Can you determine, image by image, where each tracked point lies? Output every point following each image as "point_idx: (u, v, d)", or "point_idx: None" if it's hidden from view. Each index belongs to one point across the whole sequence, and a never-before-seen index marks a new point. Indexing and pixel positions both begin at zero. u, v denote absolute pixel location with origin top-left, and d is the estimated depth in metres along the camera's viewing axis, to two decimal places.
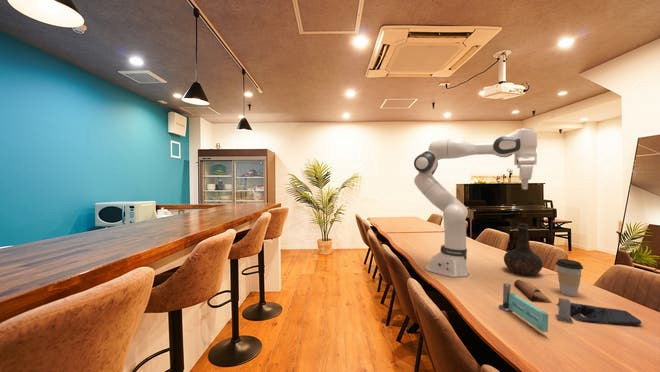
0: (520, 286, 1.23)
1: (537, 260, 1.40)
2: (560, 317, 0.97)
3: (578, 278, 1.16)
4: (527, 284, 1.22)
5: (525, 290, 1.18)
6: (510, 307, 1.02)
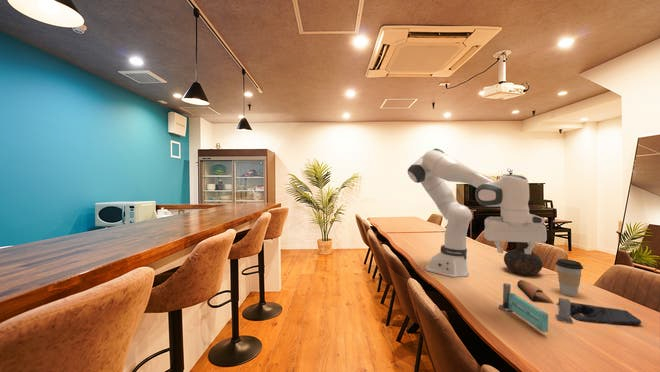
0: (522, 286, 1.23)
1: (537, 260, 1.40)
2: (560, 317, 0.97)
3: (578, 278, 1.16)
4: (530, 284, 1.22)
5: (527, 290, 1.18)
6: (510, 307, 1.02)
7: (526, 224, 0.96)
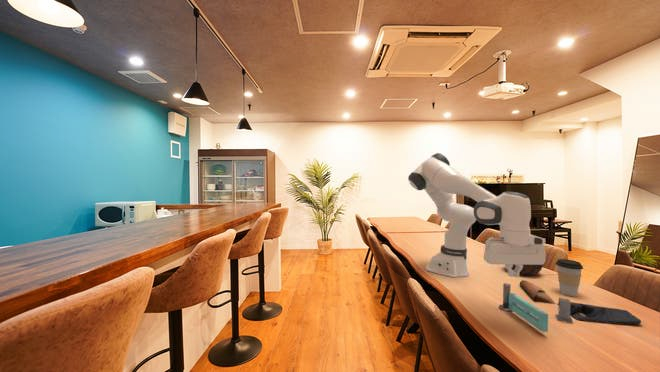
0: (524, 286, 1.23)
1: None
2: (560, 317, 0.97)
3: (578, 278, 1.16)
4: (532, 285, 1.21)
5: (529, 290, 1.18)
6: (510, 307, 1.02)
7: (527, 245, 0.91)
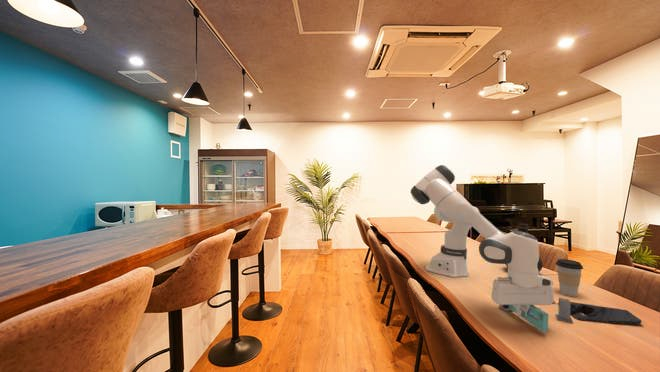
0: None
1: None
2: (560, 317, 0.97)
3: (578, 278, 1.16)
4: None
5: None
6: (510, 307, 1.02)
7: (535, 286, 0.91)
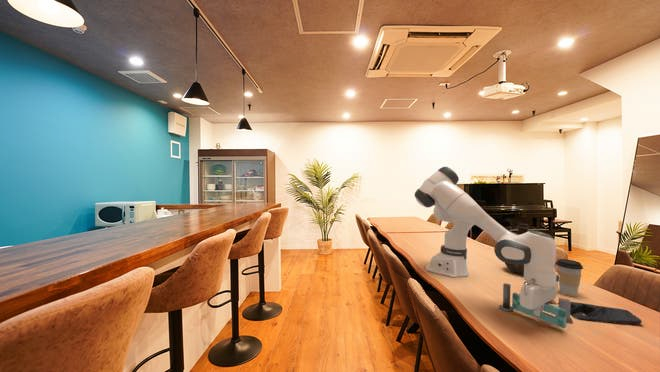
0: None
1: None
2: None
3: (578, 278, 1.16)
4: None
5: None
6: (515, 307, 1.02)
7: None
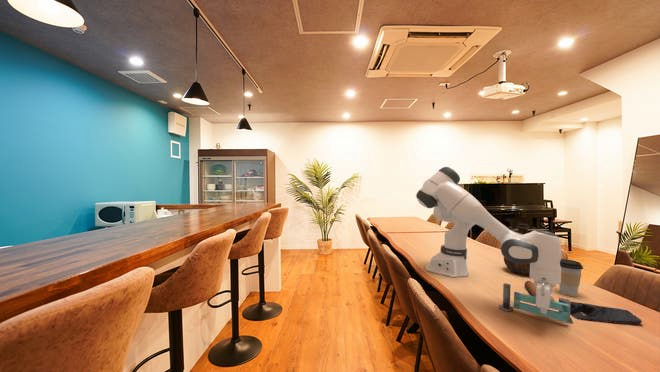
0: (528, 287, 1.22)
1: None
2: None
3: (578, 278, 1.16)
4: (535, 285, 1.21)
5: (531, 291, 1.18)
6: (516, 306, 1.03)
7: None
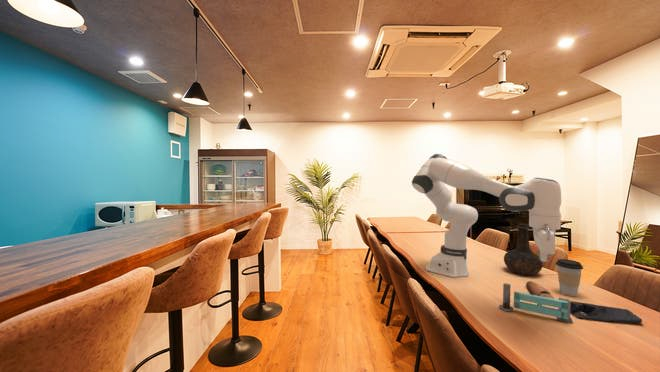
0: (529, 287, 1.22)
1: (537, 260, 1.40)
2: None
3: (578, 278, 1.16)
4: (537, 285, 1.20)
5: (532, 291, 1.17)
6: (517, 306, 1.03)
7: None
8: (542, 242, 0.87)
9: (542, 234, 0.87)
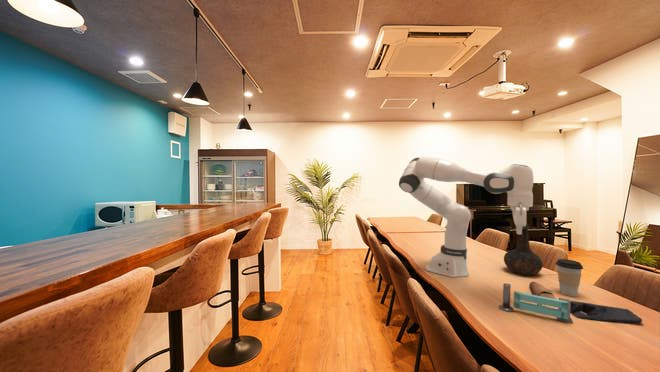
0: (532, 287, 1.22)
1: (537, 260, 1.40)
2: None
3: (578, 278, 1.16)
4: (539, 286, 1.20)
5: (534, 291, 1.17)
6: (517, 306, 1.03)
7: None
8: (516, 216, 1.05)
9: (516, 210, 1.05)
